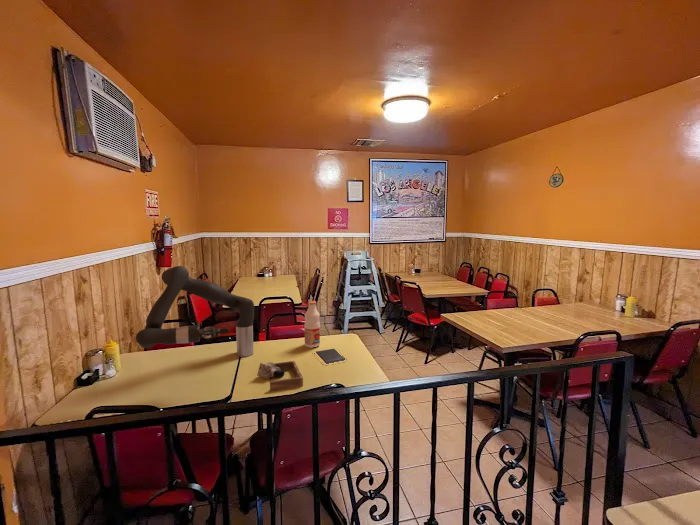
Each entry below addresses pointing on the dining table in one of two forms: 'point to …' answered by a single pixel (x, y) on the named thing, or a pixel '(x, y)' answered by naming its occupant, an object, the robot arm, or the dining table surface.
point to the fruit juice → (312, 326)
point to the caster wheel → (270, 370)
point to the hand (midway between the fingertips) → (228, 330)
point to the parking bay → (287, 382)
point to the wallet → (329, 356)
